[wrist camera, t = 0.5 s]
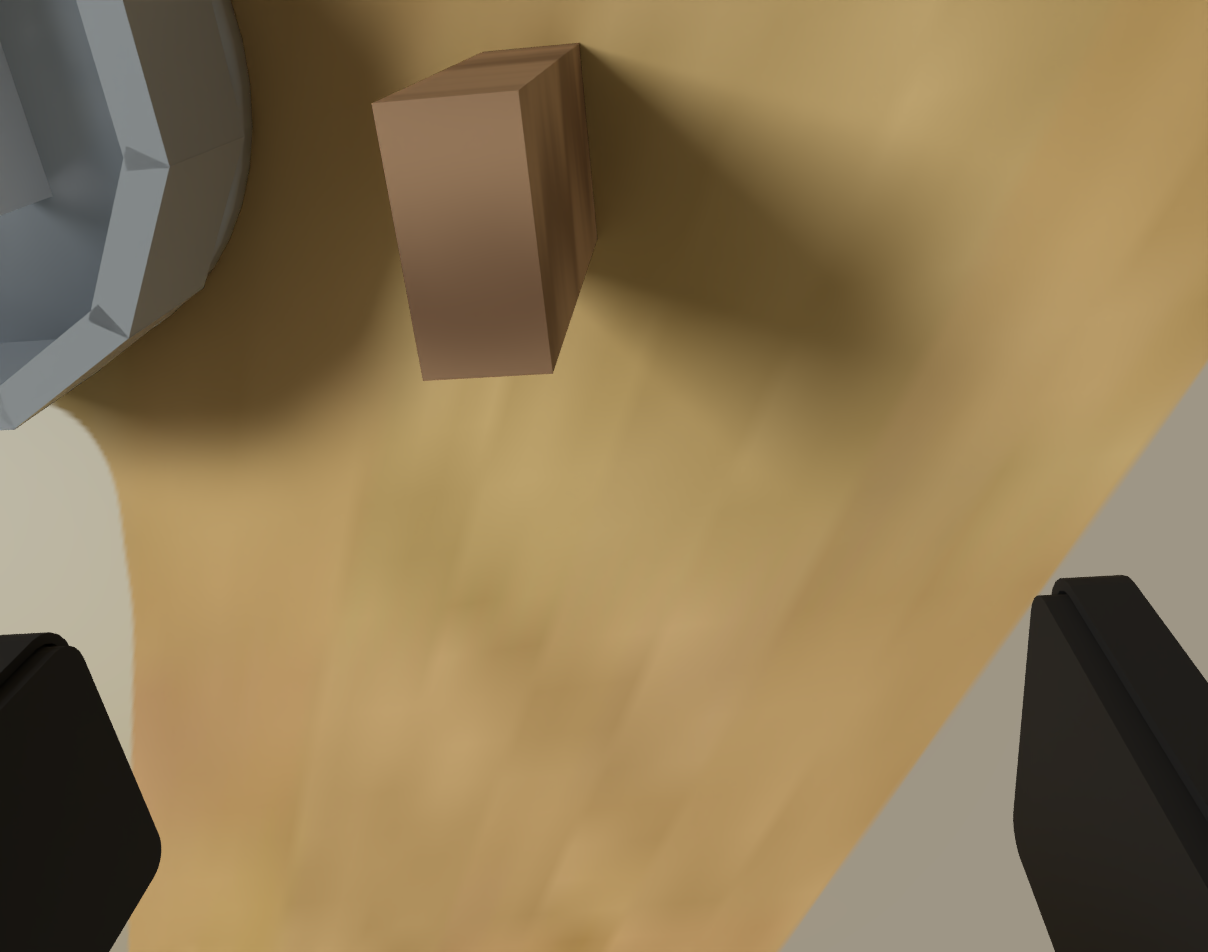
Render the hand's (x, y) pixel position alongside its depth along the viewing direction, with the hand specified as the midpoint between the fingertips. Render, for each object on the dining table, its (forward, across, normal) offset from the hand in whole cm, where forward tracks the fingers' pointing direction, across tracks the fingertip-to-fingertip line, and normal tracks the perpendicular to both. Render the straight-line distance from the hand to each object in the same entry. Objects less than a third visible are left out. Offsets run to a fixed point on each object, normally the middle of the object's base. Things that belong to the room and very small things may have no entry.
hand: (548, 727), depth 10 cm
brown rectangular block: (+25, +3, -2) cm, 25 cm away
